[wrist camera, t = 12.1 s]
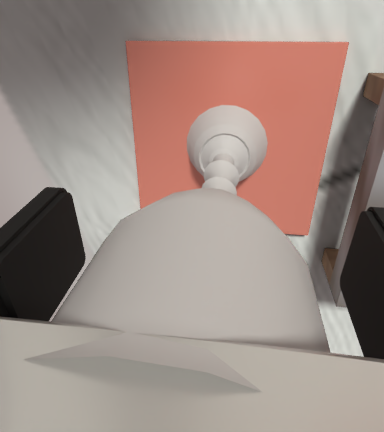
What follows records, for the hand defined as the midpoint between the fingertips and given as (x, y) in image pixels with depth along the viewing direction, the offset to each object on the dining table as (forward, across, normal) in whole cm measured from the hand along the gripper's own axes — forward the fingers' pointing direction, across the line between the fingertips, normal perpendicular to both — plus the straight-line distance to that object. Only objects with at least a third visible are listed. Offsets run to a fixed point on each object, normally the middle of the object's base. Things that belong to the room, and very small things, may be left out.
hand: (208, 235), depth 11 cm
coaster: (+12, 0, +1) cm, 12 cm away
